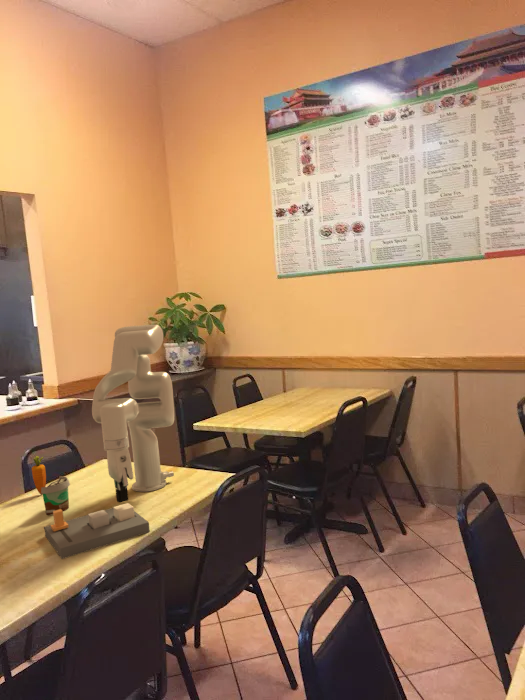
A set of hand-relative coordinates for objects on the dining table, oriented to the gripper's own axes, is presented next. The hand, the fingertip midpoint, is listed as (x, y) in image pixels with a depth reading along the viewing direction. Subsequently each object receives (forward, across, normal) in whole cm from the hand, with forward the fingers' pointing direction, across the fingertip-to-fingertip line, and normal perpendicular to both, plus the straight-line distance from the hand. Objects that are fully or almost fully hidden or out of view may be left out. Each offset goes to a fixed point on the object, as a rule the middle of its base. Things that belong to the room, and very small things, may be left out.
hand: (122, 500), depth 183 cm
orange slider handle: (+5, +5, +18) cm, 20 cm away
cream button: (+6, 0, 0) cm, 6 cm away
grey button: (+6, 0, +8) cm, 10 cm away
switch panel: (+8, 0, +9) cm, 12 cm away
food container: (+8, +30, +12) cm, 33 cm away
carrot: (+8, +52, +14) cm, 55 cm away
